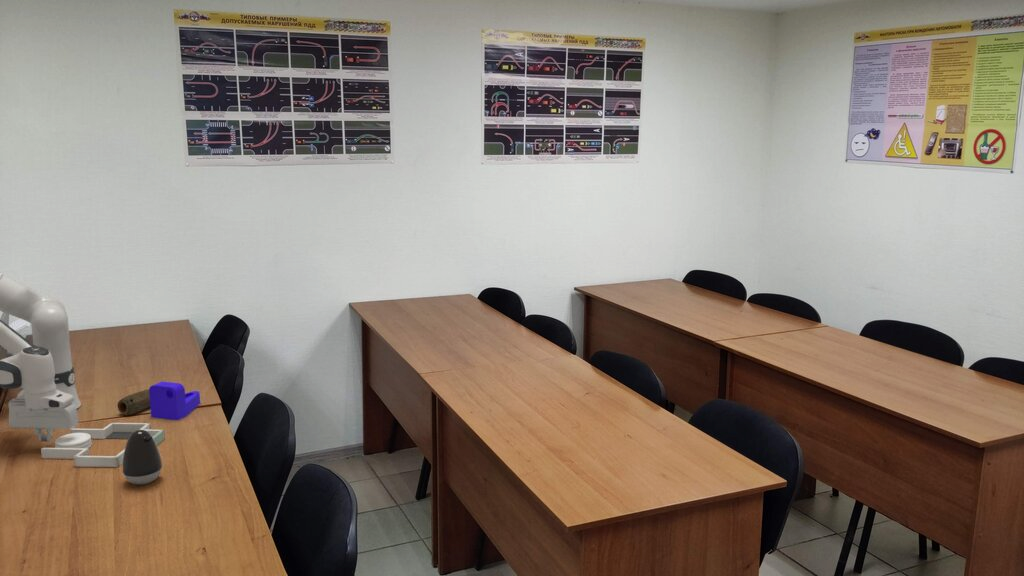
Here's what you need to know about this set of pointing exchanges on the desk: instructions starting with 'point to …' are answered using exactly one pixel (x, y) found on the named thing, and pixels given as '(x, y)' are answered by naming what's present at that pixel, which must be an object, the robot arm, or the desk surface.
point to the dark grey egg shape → (141, 458)
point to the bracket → (172, 401)
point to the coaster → (74, 441)
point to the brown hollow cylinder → (134, 403)
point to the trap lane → (108, 432)
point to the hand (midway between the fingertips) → (45, 441)
